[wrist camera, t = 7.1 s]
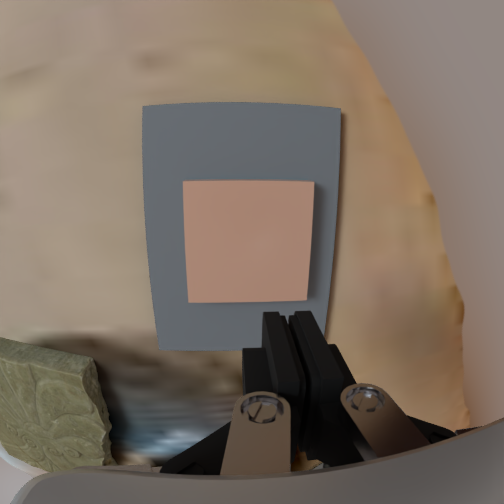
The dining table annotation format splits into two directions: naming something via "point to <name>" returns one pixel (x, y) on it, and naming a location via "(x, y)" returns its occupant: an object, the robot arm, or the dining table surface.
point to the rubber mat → (232, 166)
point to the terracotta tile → (247, 239)
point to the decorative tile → (52, 408)
